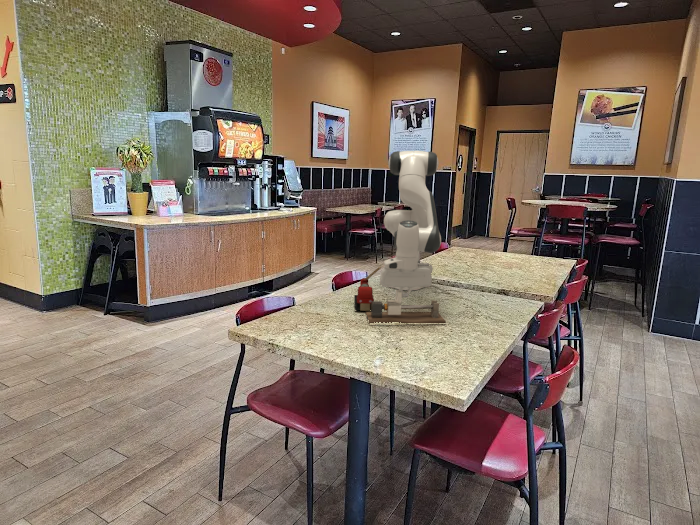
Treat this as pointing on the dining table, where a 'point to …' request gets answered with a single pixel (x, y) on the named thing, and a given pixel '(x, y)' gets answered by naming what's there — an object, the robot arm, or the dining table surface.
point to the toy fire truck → (364, 294)
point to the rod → (378, 306)
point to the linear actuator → (411, 316)
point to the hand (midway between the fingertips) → (405, 297)
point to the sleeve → (395, 304)
